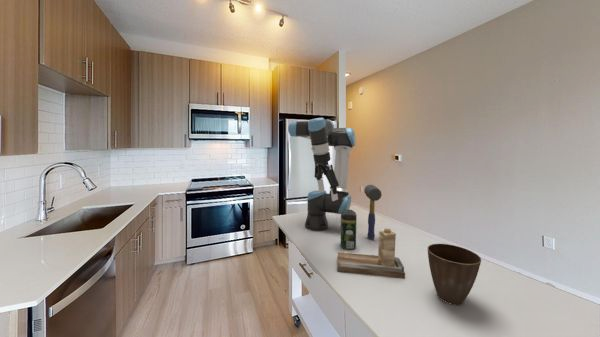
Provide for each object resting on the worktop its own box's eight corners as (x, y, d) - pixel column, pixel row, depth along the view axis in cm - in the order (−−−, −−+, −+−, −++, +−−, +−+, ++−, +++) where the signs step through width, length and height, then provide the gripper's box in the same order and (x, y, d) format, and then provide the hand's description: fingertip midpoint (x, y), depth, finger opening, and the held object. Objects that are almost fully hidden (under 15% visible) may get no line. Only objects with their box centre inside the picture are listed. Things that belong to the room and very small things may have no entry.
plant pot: (420, 281, 87) (423, 241, 85) (466, 288, 82) (469, 246, 81) (431, 307, 72) (434, 260, 71) (486, 318, 68) (491, 267, 67)
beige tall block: (377, 263, 96) (379, 228, 95) (388, 261, 98) (389, 227, 96) (383, 267, 93) (385, 231, 91) (394, 266, 94) (395, 230, 92)
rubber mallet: (380, 243, 120) (382, 187, 118) (366, 242, 121) (368, 187, 118) (375, 234, 133) (376, 183, 130) (362, 234, 133) (363, 183, 131)
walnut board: (337, 256, 106) (338, 249, 106) (396, 261, 102) (397, 254, 101) (337, 271, 93) (337, 263, 93) (404, 278, 89) (405, 269, 89)
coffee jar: (340, 241, 123) (340, 208, 121) (355, 242, 122) (356, 208, 120) (340, 249, 113) (341, 213, 112) (356, 250, 112) (357, 214, 110)
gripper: (303, 151, 113) (310, 190, 119) (326, 158, 90) (334, 206, 96) (317, 148, 116) (323, 186, 121) (342, 154, 93) (349, 201, 98)
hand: (328, 195), depth 109 cm, fingers open, 13 cm apart
